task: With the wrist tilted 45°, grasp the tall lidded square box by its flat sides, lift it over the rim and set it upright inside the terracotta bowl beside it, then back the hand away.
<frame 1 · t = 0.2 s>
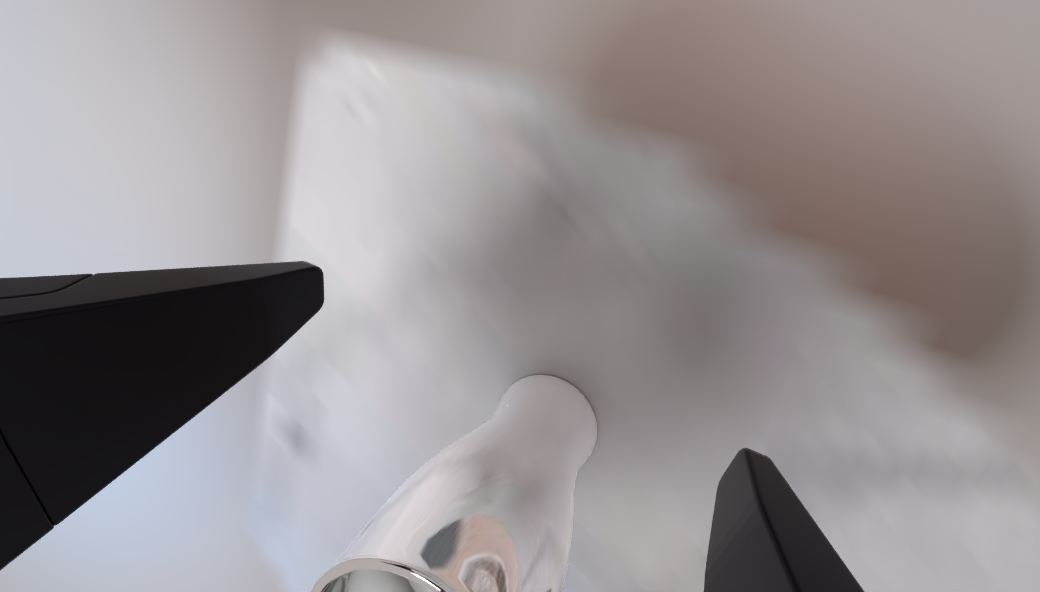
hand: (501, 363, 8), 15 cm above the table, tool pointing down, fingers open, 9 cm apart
beer glass: (547, 421, 26), on the table
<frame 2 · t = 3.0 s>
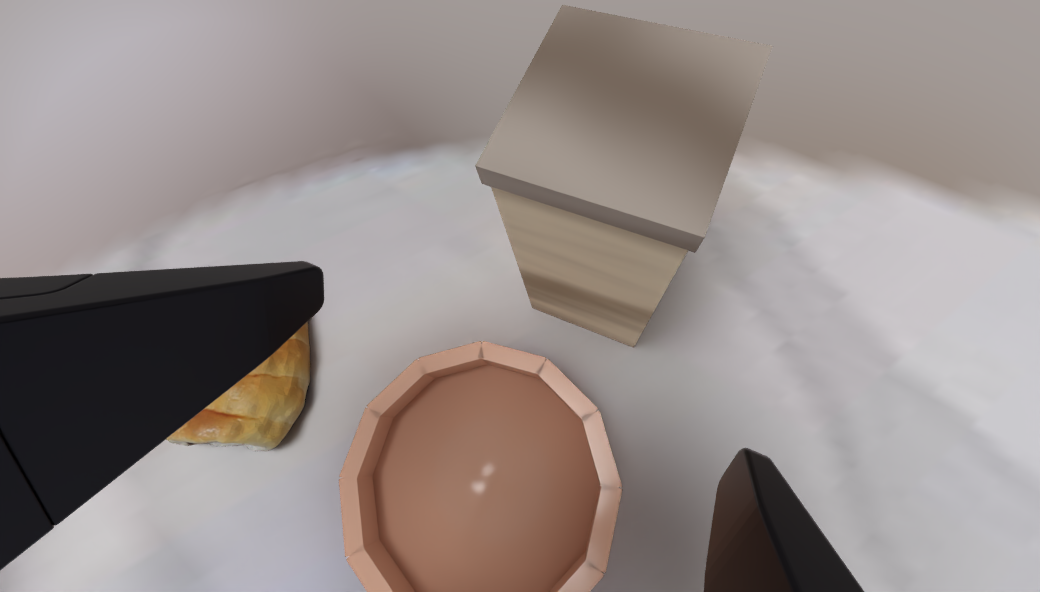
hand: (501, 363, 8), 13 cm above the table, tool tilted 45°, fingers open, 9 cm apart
terracotta bowl: (486, 478, 20), on the table
lidded square box: (600, 280, 23), on the table
pastry: (261, 374, 24), on the table
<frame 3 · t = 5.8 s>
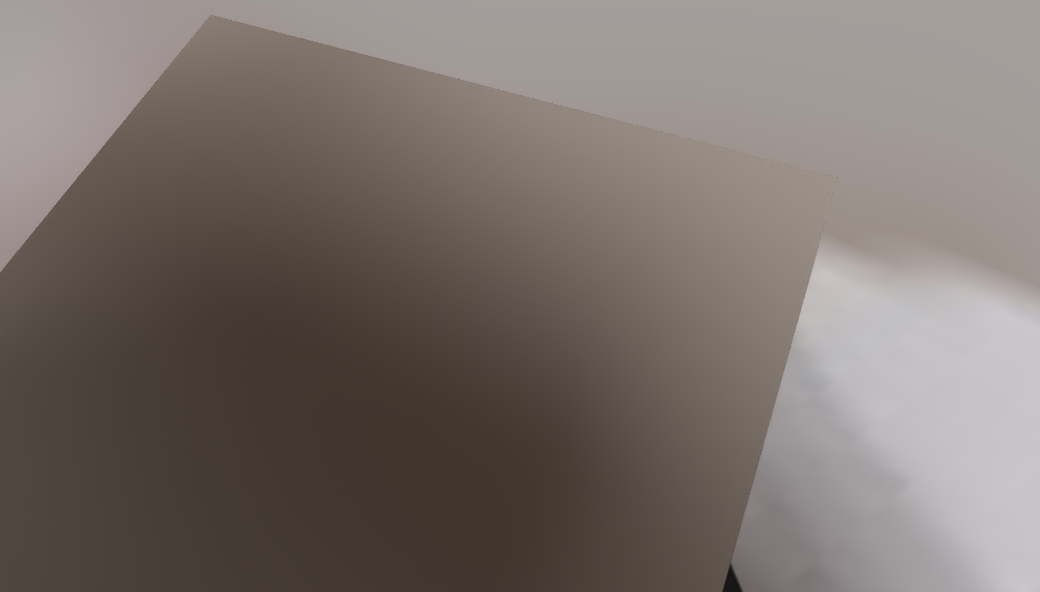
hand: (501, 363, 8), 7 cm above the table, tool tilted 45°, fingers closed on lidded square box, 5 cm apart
lidded square box: (518, 436, 14), on the table, touching gripper
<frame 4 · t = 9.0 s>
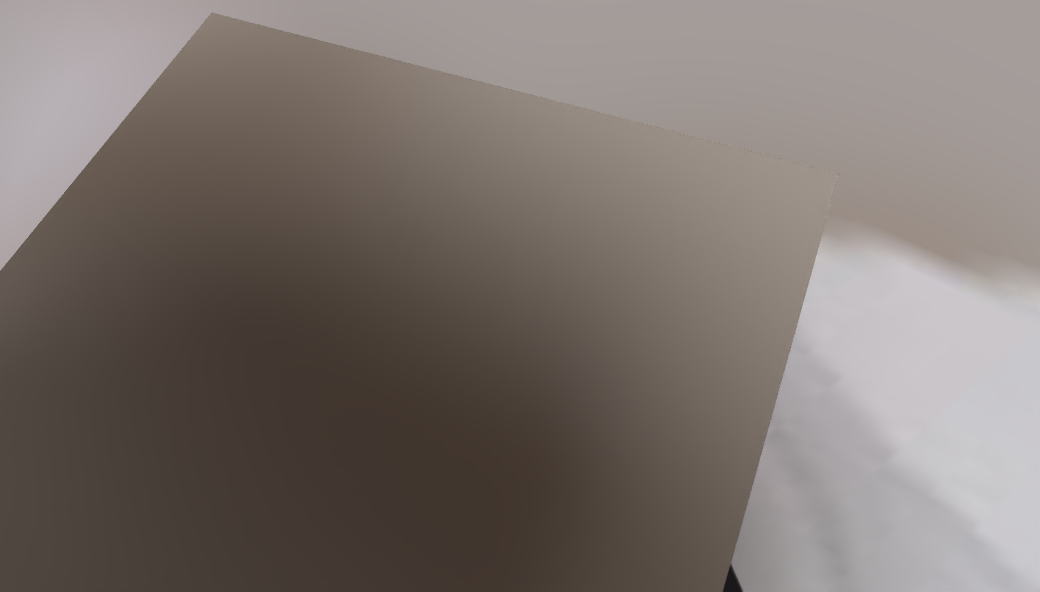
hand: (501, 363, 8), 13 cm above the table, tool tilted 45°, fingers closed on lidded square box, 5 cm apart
lidded square box: (519, 435, 14), point 6 cm above the table, touching gripper
when the fingers open (9 cm above the table, at t = 12.1 s): lidded square box drops 1 cm, resting on terracotta bowl.
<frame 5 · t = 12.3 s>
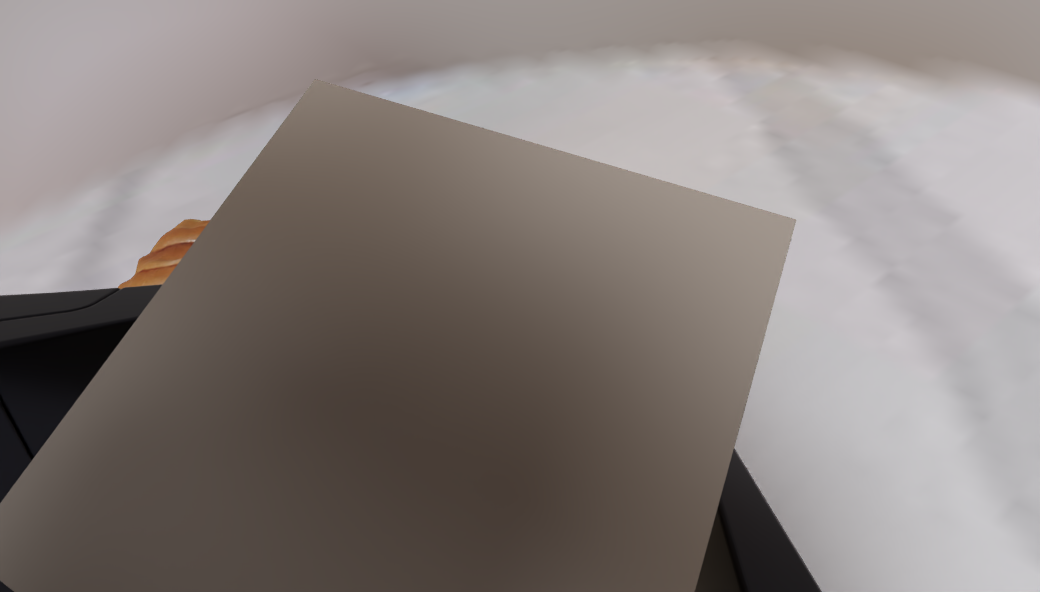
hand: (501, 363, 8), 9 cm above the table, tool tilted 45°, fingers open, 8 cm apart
lidded square box: (522, 436, 16), point 1 cm above the table, touching terracotta bowl
pastry: (214, 337, 20), on the table
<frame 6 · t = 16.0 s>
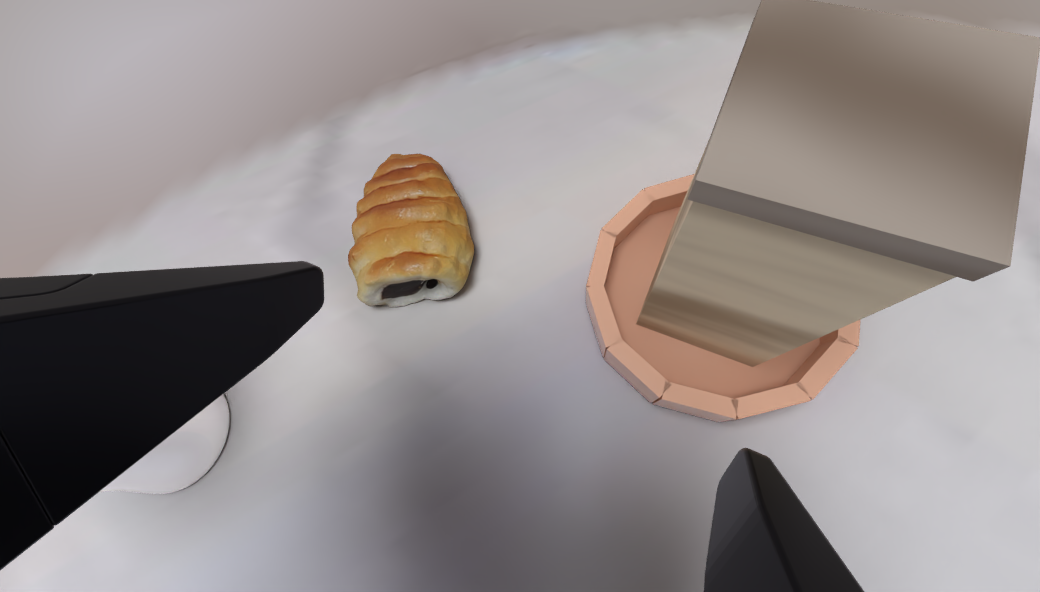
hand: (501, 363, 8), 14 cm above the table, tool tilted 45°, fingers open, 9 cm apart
terracotta bowl: (704, 300, 22), on the table
lidded square box: (709, 293, 21), point 1 cm above the table, touching terracotta bowl
pastry: (417, 247, 26), on the table
beer glass: (182, 432, 24), on the table
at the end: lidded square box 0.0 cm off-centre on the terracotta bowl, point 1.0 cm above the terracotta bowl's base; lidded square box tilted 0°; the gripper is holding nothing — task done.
